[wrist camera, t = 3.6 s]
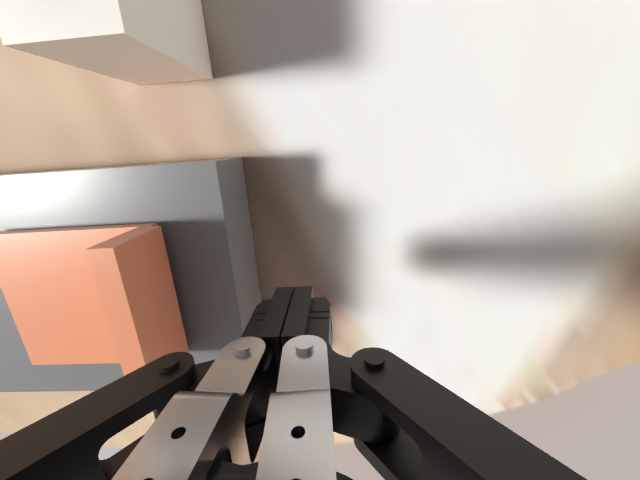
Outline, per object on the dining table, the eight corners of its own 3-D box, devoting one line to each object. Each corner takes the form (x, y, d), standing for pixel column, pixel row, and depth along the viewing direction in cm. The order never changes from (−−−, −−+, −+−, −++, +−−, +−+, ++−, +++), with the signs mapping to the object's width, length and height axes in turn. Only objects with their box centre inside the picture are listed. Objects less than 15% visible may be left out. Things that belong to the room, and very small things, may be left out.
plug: (199, -13, 15) (46, -186, 7) (213, 78, 16) (95, 17, 8) (119, -5, 15) (-111, -162, 7) (139, 85, 16) (-42, 32, 9)
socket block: (242, 157, 17) (215, 161, 13) (267, 343, 21) (251, 388, 17) (-86, 179, 19) (-194, 188, 15) (-10, 350, 22) (-82, 393, 18)
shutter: (167, 222, 14) (113, 247, 11) (196, 353, 16) (158, 411, 13) (-7, 231, 15) (-113, 258, 11) (42, 357, 17) (-34, 413, 13)
